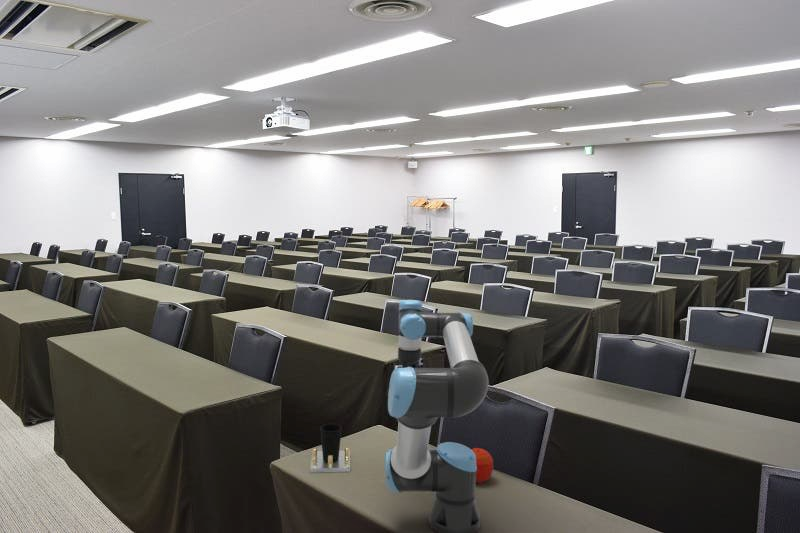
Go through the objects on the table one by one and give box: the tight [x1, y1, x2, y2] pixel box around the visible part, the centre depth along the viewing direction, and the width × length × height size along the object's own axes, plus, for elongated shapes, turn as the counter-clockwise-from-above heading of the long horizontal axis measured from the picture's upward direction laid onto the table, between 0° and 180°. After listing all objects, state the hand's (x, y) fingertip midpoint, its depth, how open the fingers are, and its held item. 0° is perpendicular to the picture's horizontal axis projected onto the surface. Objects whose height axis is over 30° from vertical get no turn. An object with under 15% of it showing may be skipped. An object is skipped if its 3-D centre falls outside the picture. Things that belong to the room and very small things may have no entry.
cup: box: [319, 423, 343, 462], centre depth 204 cm, size 8×8×12 cm
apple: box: [470, 447, 494, 484], centre depth 194 cm, size 10×10×12 cm
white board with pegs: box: [309, 447, 351, 474], centre depth 204 cm, size 14×14×6 cm
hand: (408, 410), depth 185 cm, fingers open, 13 cm apart
